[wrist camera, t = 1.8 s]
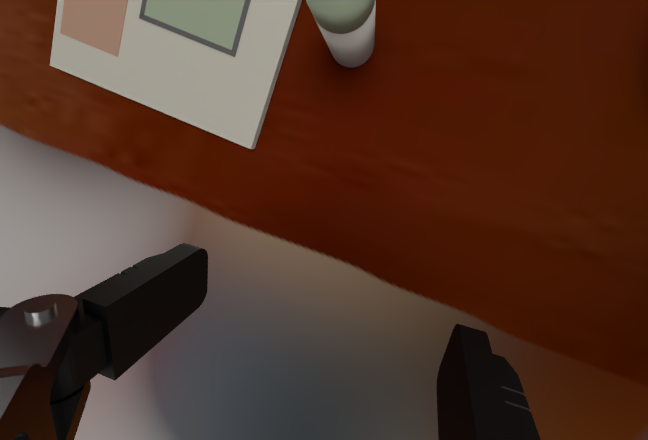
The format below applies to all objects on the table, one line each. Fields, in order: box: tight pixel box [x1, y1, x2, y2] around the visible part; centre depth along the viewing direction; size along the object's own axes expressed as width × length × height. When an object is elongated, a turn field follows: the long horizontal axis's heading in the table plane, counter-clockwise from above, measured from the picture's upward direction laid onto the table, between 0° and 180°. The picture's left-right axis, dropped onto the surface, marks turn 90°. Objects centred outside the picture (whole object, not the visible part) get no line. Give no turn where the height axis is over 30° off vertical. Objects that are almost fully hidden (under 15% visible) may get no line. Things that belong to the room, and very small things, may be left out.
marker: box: [306, 0, 376, 68], centre depth 20 cm, size 4×4×12 cm
